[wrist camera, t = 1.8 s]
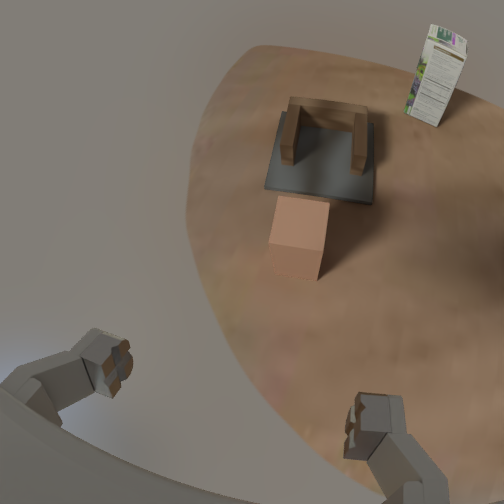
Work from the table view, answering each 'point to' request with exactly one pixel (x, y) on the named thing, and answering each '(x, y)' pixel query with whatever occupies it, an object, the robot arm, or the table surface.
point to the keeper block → (298, 237)
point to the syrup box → (436, 75)
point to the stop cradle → (323, 151)
